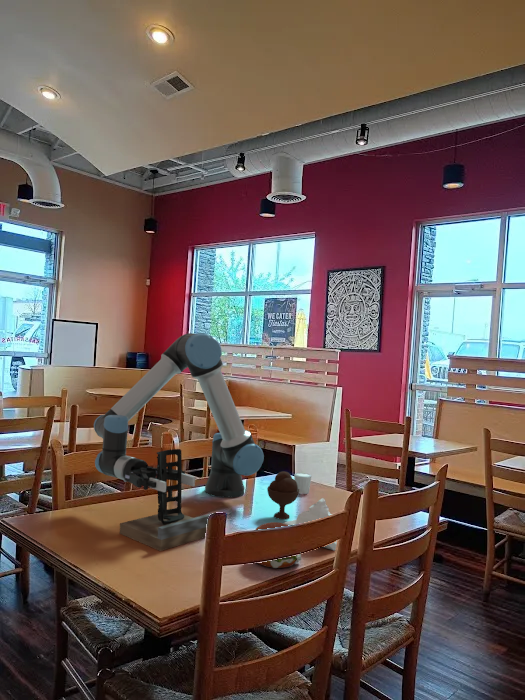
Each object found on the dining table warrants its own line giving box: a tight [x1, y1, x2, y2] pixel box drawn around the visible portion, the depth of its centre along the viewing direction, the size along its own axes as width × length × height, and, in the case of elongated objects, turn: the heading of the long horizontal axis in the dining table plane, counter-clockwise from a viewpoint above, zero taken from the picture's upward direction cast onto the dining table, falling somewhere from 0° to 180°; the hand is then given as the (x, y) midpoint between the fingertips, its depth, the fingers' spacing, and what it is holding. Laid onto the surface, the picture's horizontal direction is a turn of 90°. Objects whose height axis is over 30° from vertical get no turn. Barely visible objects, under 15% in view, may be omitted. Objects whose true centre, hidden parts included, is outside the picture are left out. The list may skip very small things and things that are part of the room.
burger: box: [254, 521, 302, 569], centre depth 147 cm, size 13×14×10 cm
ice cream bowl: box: [267, 470, 299, 520], centre depth 187 cm, size 11×11×15 cm
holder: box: [156, 448, 185, 525], centre depth 162 cm, size 11×8×20 cm
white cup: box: [293, 472, 312, 495], centre depth 222 cm, size 7×7×7 cm
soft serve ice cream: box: [283, 497, 337, 552], centre depth 163 cm, size 12×15×14 cm
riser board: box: [119, 513, 211, 552], centre depth 162 cm, size 20×18×6 cm
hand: (179, 484), depth 160 cm, fingers closed on holder, 10 cm apart
